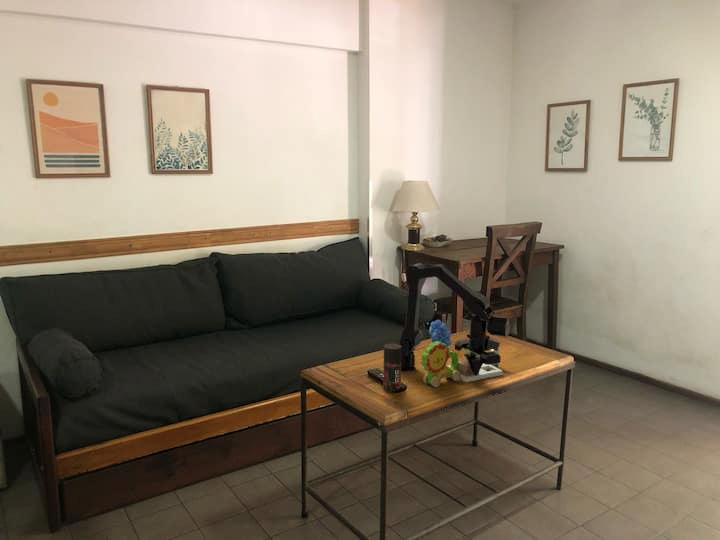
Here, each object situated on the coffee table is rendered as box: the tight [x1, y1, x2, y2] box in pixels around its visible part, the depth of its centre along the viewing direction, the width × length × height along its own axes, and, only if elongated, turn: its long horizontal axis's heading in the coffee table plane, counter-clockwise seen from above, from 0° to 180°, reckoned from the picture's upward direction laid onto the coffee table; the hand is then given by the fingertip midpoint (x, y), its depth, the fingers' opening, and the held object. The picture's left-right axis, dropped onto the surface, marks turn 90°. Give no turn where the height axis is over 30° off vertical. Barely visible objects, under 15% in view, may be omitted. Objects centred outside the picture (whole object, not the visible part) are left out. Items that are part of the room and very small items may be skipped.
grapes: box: [428, 319, 452, 348], centre depth 238 cm, size 12×7×12 cm, turn 40°
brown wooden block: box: [458, 358, 473, 376], centre depth 208 cm, size 6×6×4 cm
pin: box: [490, 348, 500, 369], centre depth 218 cm, size 3×3×7 cm
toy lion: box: [421, 341, 461, 388], centre depth 202 cm, size 16×5×15 cm, turn 126°
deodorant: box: [382, 343, 402, 392], centre depth 197 cm, size 6×6×15 cm
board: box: [446, 363, 504, 383], centre depth 213 cm, size 16×13×2 cm
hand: (475, 375), depth 204 cm, fingers closed
